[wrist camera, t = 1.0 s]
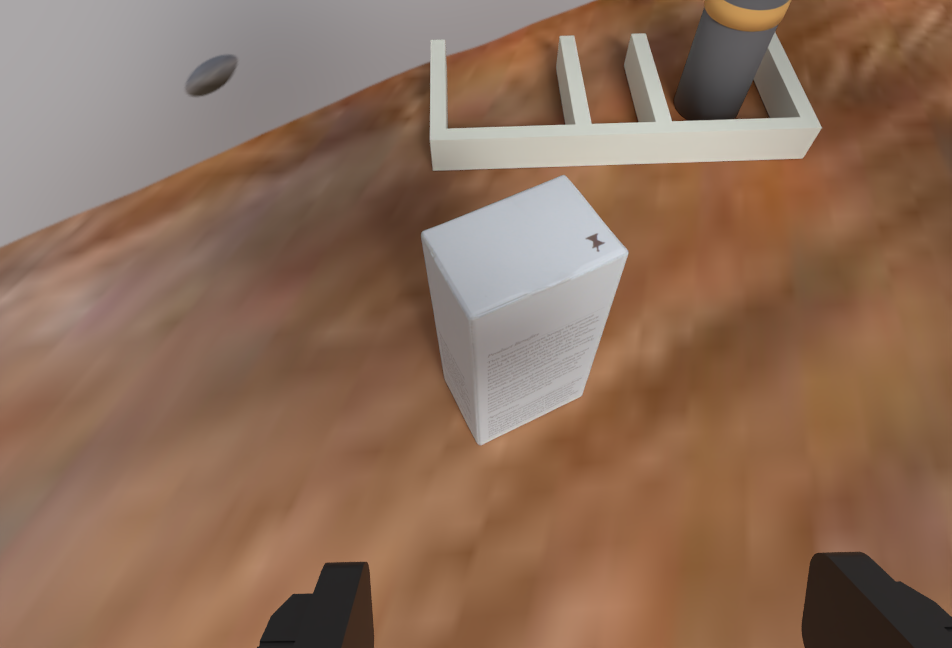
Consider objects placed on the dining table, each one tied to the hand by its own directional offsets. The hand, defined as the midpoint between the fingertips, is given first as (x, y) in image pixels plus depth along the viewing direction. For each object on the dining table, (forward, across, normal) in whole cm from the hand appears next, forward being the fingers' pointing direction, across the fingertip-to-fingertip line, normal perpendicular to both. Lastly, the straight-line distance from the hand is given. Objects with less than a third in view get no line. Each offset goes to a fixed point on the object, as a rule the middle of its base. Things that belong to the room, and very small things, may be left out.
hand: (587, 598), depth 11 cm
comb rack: (+34, -8, -12) cm, 37 cm away
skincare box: (+19, 0, +3) cm, 20 cm away
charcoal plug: (+34, -15, -12) cm, 39 cm away
